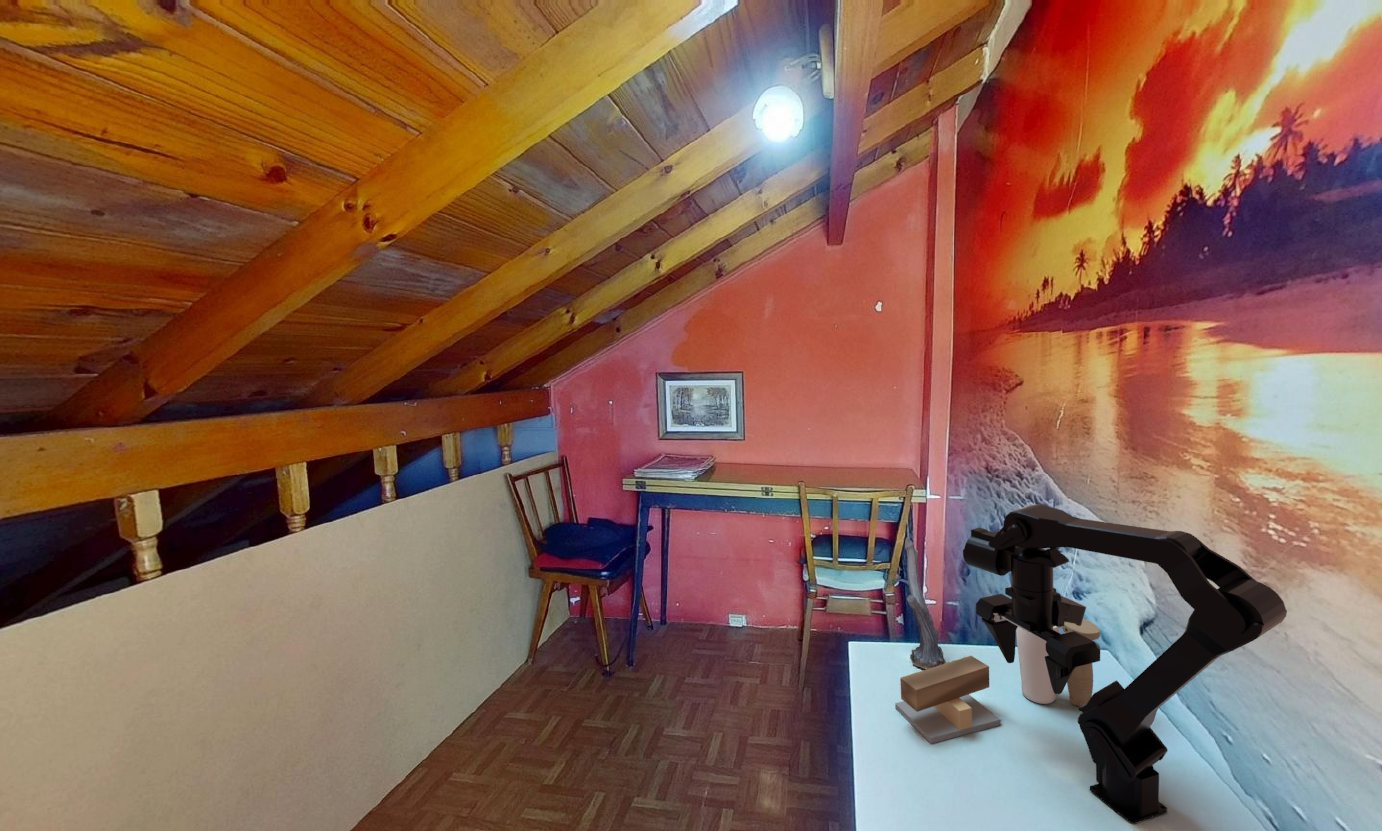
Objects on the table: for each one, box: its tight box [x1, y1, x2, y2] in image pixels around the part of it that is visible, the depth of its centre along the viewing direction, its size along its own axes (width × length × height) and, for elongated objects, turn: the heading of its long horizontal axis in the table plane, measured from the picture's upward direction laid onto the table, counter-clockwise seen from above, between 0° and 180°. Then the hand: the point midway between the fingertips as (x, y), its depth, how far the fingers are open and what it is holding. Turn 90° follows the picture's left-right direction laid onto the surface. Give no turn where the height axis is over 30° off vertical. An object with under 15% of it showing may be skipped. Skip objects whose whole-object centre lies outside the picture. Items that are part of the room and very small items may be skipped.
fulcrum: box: [894, 694, 1002, 745], centre depth 100 cm, size 10×14×4 cm
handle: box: [1061, 618, 1101, 708], centre depth 100 cm, size 5×6×15 cm
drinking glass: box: [1016, 626, 1061, 705], centre depth 103 cm, size 7×7×15 cm
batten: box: [899, 655, 990, 712], centre depth 99 cm, size 4×16×4 cm, turn 109°
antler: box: [904, 536, 947, 670], centre depth 118 cm, size 12×8×25 cm
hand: (1033, 677), depth 90 cm, fingers open, 9 cm apart
